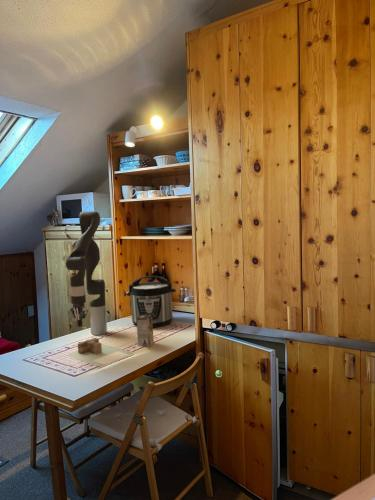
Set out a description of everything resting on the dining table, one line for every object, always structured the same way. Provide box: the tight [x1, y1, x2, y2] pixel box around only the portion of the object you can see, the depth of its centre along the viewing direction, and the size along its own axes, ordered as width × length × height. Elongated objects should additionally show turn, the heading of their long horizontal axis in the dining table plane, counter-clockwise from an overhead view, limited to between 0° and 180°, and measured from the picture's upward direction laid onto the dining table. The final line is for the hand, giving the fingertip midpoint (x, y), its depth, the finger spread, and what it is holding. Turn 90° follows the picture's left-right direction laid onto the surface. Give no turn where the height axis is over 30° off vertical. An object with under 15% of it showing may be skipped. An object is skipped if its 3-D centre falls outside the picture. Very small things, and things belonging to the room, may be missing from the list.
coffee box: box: [136, 315, 155, 349], centre depth 208 cm, size 9×6×16 cm
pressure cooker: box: [125, 275, 176, 328], centre depth 252 cm, size 30×28×32 cm
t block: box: [77, 337, 102, 354], centre depth 198 cm, size 10×11×5 cm
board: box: [66, 343, 134, 369], centre depth 194 cm, size 27×22×1 cm
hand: (79, 326), depth 204 cm, fingers closed
